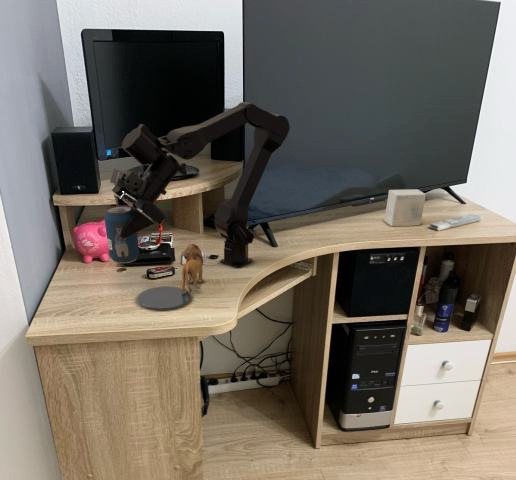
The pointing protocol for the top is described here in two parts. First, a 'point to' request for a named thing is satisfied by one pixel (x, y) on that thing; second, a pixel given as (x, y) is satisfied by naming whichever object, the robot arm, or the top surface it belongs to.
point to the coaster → (163, 298)
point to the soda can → (118, 246)
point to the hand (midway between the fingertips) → (116, 233)
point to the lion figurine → (192, 267)
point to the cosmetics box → (404, 207)
